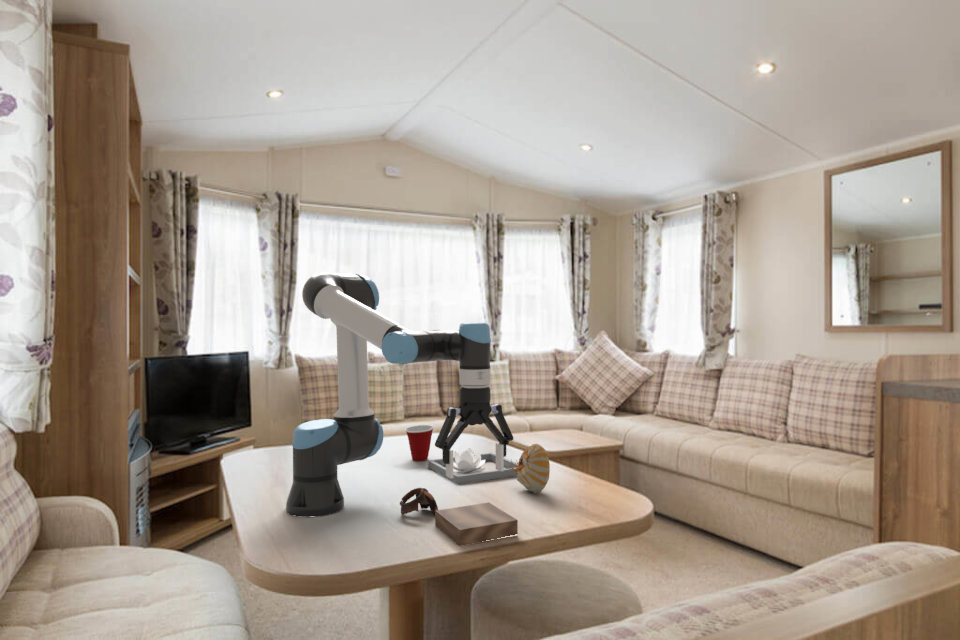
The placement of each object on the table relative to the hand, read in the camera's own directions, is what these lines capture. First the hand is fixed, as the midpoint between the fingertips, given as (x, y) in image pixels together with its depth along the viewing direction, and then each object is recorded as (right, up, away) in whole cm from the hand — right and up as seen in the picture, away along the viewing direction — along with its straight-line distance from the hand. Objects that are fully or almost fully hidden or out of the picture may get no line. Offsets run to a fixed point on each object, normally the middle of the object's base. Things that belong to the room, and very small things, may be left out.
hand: (475, 473), depth 143 cm
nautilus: (+16, -15, +36) cm, 43 cm away
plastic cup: (-22, -15, +77) cm, 81 cm away
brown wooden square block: (0, -15, 0) cm, 15 cm away
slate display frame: (0, -15, +59) cm, 61 cm away
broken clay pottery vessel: (-13, -16, +14) cm, 25 cm away
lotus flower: (-4, -15, +55) cm, 57 cm away
